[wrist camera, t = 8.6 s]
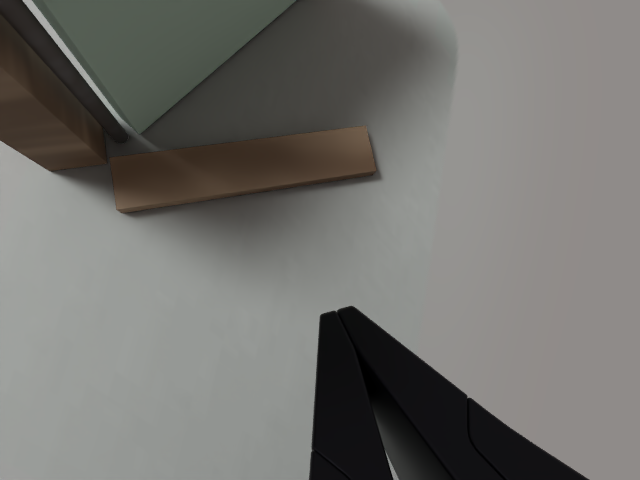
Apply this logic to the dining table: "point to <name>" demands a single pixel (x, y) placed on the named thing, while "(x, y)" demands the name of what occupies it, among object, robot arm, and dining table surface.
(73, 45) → the board
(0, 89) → the gate frame
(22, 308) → the dining table surface
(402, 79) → the dining table surface
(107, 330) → the dining table surface
